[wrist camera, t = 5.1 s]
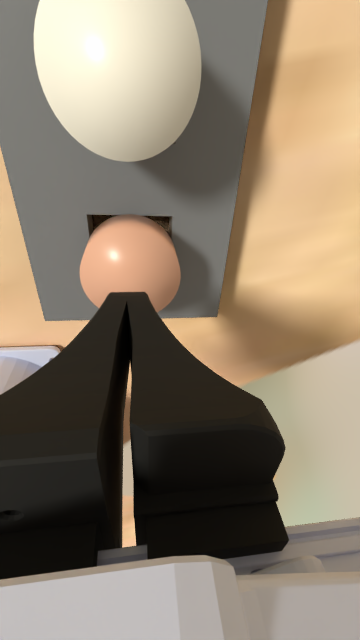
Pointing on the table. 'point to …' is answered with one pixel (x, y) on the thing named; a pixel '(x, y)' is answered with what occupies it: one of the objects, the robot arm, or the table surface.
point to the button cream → (119, 72)
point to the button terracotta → (130, 261)
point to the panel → (130, 164)
